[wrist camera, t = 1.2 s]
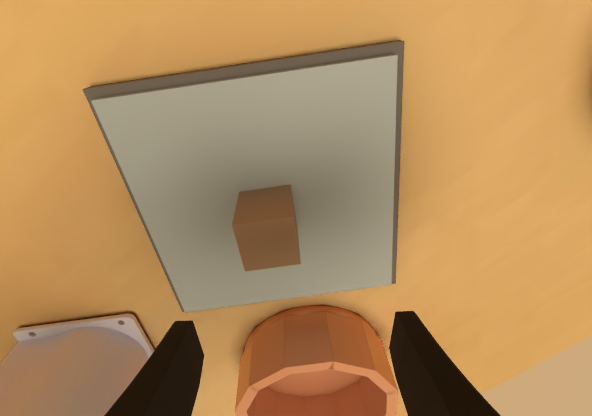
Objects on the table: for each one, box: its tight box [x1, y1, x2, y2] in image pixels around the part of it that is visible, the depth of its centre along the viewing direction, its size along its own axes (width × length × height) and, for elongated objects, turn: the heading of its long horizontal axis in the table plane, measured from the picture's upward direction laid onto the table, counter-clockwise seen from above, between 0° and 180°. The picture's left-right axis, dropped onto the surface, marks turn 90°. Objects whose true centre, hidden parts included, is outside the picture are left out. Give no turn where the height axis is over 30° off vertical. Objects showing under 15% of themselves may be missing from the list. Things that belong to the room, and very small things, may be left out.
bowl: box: [235, 306, 398, 416], centre depth 26 cm, size 12×12×5 cm
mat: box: [83, 40, 404, 312], centre depth 20 cm, size 16×16×1 cm
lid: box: [91, 54, 398, 312], centre depth 18 cm, size 15×15×4 cm
